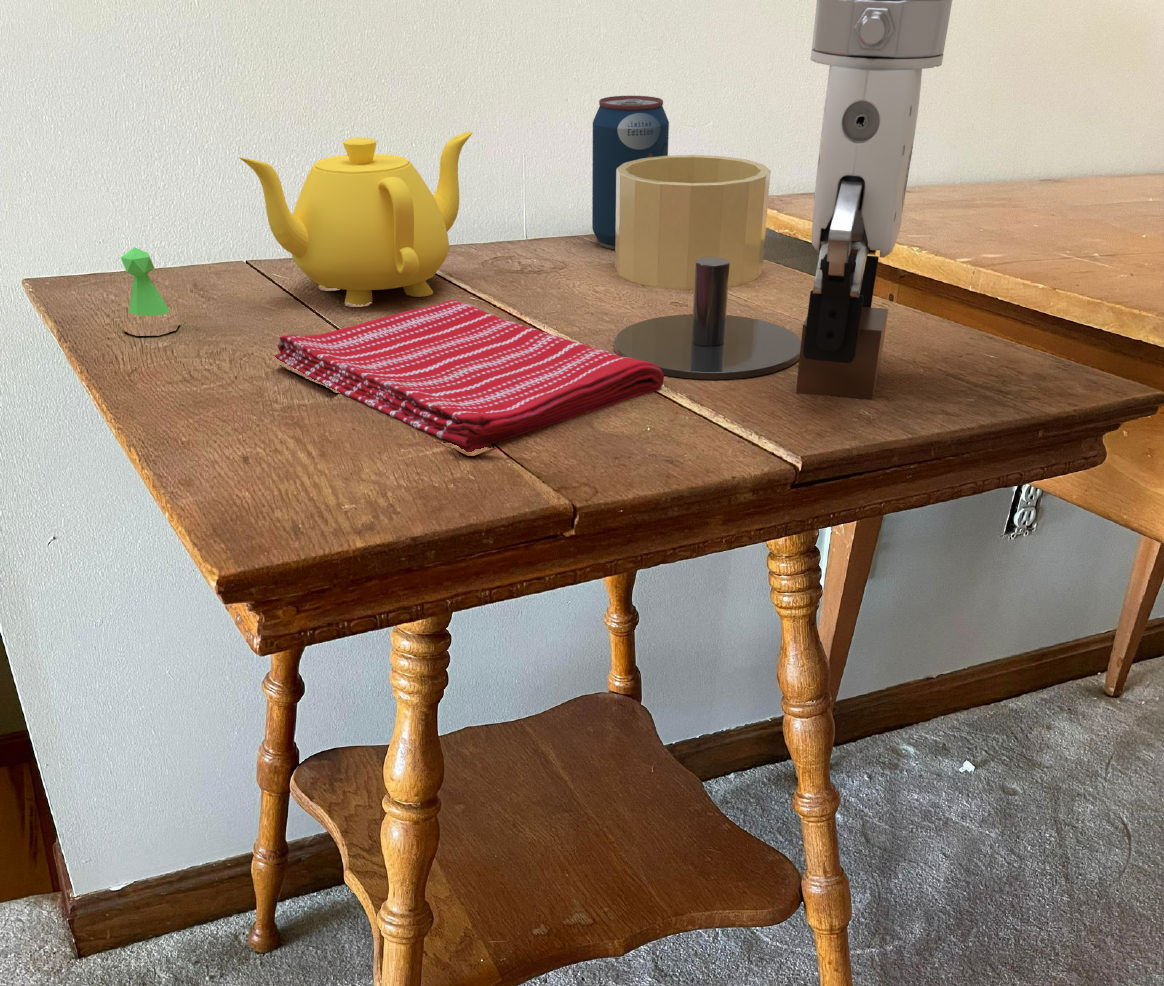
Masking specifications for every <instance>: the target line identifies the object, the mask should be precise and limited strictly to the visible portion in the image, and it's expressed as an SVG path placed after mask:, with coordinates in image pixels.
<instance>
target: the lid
mask: <svg viewBox="0 0 1164 986" xmlns="http://www.w3.org/2000/svg"><path fill="white" fill-rule="evenodd" d="M729 268H730V261H729V260H727V259H725V258H720V257H704V258H699V259H697V260H696V261H695V279H694V290H693V298H692V299H693V303H692V313H689V314H688V313H687V314H676V315H674V314H673V315H665V316H660V317H654V318H649V319H646V320H641V321H638V322H636V323H632V324H630V325H629V326H627V327H624V328H623V329H622V330H620V331H619V332H618V333H617V334H616V336H615V338H614V341H613V349H614V352H615V354H616V355H619V356H621V357H629V358H633V359H637V360H642V361H647V362H651V363H654V364H656V365H657V366H659V367H660V369H661V370H662V372H663V374H664V376H667V377H672V378H681V379H690V380H692V379H693V380H710V381H711V380H714V381H715V380H718V381H719V380H739V379H746V378H754V377H760V376H766V375H769V374H773V373H776V372H779V371H782V370H785V369H788V368H789V367H791V366H793V365H794V364H795V363H797V362H799V357H800V347H801V338H800V337H799V336H798V335H797V334H796V333H794V332H793V331H792V330H790V329H788V328H785V327H784V326H781V325H779V324H775V323H774V322H773V323H772V322H769V321H766V320H761V319H758V318H752V317H746V316H739V315H730V314H727V313H728V311H727V310H728V298H729V297H728V294H729V287H728V283H729Z"/></svg>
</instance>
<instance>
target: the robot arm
mask: <svg viewBox="0 0 1164 986" xmlns="http://www.w3.org/2000/svg"><path fill="white" fill-rule="evenodd" d="M952 4H953V0H816V6H815V13H814V14H815V16H814V25H813V33H812V42H811V50H810V61H811V62H813V63H816V64H821V65H825V66H829V69H828V74H827V75H828V76H827V82H826V83H827V85H826V91H825V100H824V107H823V115H822V123H821V131H820V141H819V149H818V158H817V168H816V177H815V187H814V188H815V189H814V197H813V198H814V200H813V211H812V212H813V213H812V222H811V223H812V224H811V245H812V247H813V248H814V249H815V250H816V251H817V252H818V253H819V254H818V259H817V265H816V270H815V276H814V281H813V286H812V287H813V289H812V290H810V293H809V300H808V308H807V315H808V316H806V318H807V324H806V332H805V340H804V348H803V355H804V357H805V358H806V359H812V360H821V361H831V362H841V363H850V362H852V361H853V360H854V357H855V354H856V347H857V340H858V333H859V327H860V320H861V313H862V307H870V308H872V305H873V304H872V303H873V297H874V290H875V283H876V278H877V277H876V276H877V272H878V265H879V264H878V263H879V259H880V258H882V259H883V258H886V257H888V256H889V255H890V254H891V253H892V252H893V251H894V248H895V246H896V244H897V241H898V238H899V234H900V232H901V226H902V220H903V214H904V213H903V212H904V206H905V200H906V199H905V198H906V193H907V187H908V186H907V185H908V181H909V174H910V168H911V161H912V156H913V155H912V154H913V148H914V142H915V136H916V129H917V123H918V122H917V121H918V115H919V107H920V106H919V105H920V100H921V99H920V98H921V97H920V96H921V88H922V76H923V70H924V69H934V68H935V67H936V68H938V67H940V66H942V64H943V60H944V52H945V47H946V41H947V34H948V28H949V23H950V22H949V21H950V17H951V10H952V6H953V5H952ZM877 251H879V256H876V255H877Z"/></svg>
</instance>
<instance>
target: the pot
mask: <svg viewBox="0 0 1164 986" xmlns="http://www.w3.org/2000/svg"><path fill="white" fill-rule="evenodd" d="M770 182H771V170H770V169H769V167H767V166H766V165H765V164H763V163H760V162H756V161H753V160H750V159H746V158H745V159H744V158H739V157H731V156H723V155H705V154H674V155H670V154H668V156H659V157H650V158H641V159H638V160H634V161H630V162H626V163H623V164H622V165H621V166H619V167H618V168H617V169H616V242H615V249H614V251H615V254H614V258H615V259H614V269H615V271H616V273H617V275H618V276H619V277H620V278H622V279H624V280H627V281H628V282H631V283H634V284H639V285H642V286H648V287H652V288H656V289H667V290H668V289H669V290H681V291H694V279H695V261H696V260H697V259H699V258H704V257H720V258H725V259H727V260H729V261H730V268H729V283H728V288H730V287H737V286H742V285H745V284H747V283H750V282H752V281H755V280H756V279H757V280H758V278H759V277H760V275H761V274H762V273H763V270H764V269H763V268H764V256H765V244H766V243H765V242H766V232H767V221H768V220H767V218H768V207H769V196H770Z"/></svg>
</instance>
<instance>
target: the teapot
mask: <svg viewBox="0 0 1164 986" xmlns="http://www.w3.org/2000/svg"><path fill="white" fill-rule="evenodd" d="M472 134H473V131H472V130H471V131H466V132H463V133H461V134H459V135H456V136H454V137H452V138H451V139H449V140H448V141H447V142H446V144H445V145H444V147H443V149H442V151H441V155H440V160H439V175H438V183H437V186H436V189H435V191H434V192H433V193H432V191H431V190H430V188H429V187H428V185H427V184H426V182H425V180H424V179H423V178H422V176H421V174H420V172H419V171H418V170H417V168H416V167H415V166H414V164H413V163H412V161H410V160H409V159H407V158H406V157H404V156H399V155H395V154H388V153H376V148H377V140H375V139H373V138H371V137H353V138H348V139H344V141H342V145H343V148H344V150H345V153H346V154H342V155H334V156H329V157H325V158H322V159H318V160H317V161H315V162H314V164H313V165H312V166H311V168H310V170H309V173H307V176H306V178H305V181H304V183H303V185H302V187H301V190H300V193H299V195H298V198H297V201H296V204H295V207H294V210H293V213H292V212H291V210H290V208H289V206H288V203H287V200H286V196H285V194H284V190H283V186H282V182H281V179H280V177H279V174H278V173H277V171H276V170H275V168H274V167H273V166H272V165H270V163H268V162H266V161H261V160H256V159H251V158H246V157H240V156H239V157H238V159H239V160H241V161H242V162H243V163H245V164H246V165H247V166H248V167H249V168H250V169H252V170H253V172H254V173H255V174H256V176H257V177H258V179H259V183H260V184H261V187H262V192H263V198H264V204H265V210H266V217H267V222H268V225H269V228H270V231H271V233H272V235H273V237H274V238H275V240H276V242H277V243H278V244H279V245H280V246H281V248H283V249H284V250H285V251H287V252H288V253H290V254H291V258H292V259H293V261H294V263H295V264H296V265H297V267H299V269H300V270H301V271H302V272H303V273H304V274H305V276H307V277H308V278H309V279H310V280H311V281H312V282H314V283H315V284H317V285H318V287H319V286H322V287H325V288H337V289H342V290H346V294H345V299H344V302H345V301H346V302H349V303H352V304H356V305H358V304H359V305H361V304H363V305H365V304H367V303H369V302H372V301H373V291H378V290H380V291H381V290H389V289H397V288H403V290H404V292H405V294H406V295H407V296H409V295H410V296H409V297H415V298H416V297H418V298H419V297H420V298H421V297H422V298H423V297H426V296H427V297H428V296H432V295H433V294H434V291H433V290H432V288H431V286H430V285H429V284H428V282H427V281H428V280H429V279H431V278H433V277H434V276H435V275H436V274H437V272H439V271H438V270H440V268H441V267H442V265H443V264H444V262H445V261H446V259H447V257H448V256H449V252H450V242H449V235H448V232H449V231H450V230H451V228H452V227H453V226H454V223H455V222H456V219H457V217H458V213H459V208H460V184H459V159H460V154H461V153H462V149H463V147H464V145H465V144H466V143H467V141H468V139H469V138H470V137H471V136H472Z"/></svg>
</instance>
